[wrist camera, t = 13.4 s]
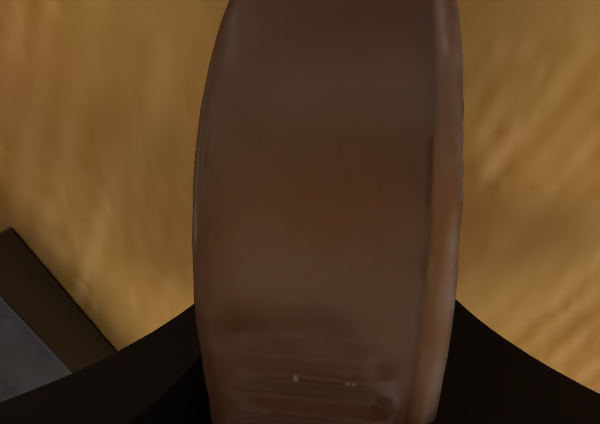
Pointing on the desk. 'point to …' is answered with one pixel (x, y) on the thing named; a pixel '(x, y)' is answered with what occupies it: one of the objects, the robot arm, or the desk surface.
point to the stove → (39, 325)
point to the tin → (329, 210)
